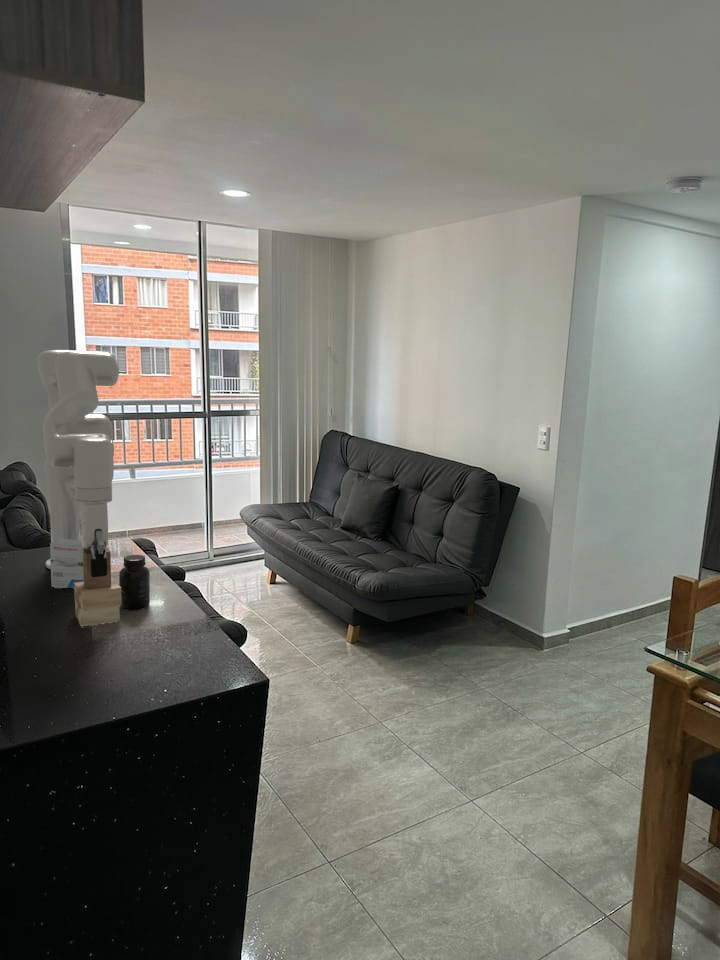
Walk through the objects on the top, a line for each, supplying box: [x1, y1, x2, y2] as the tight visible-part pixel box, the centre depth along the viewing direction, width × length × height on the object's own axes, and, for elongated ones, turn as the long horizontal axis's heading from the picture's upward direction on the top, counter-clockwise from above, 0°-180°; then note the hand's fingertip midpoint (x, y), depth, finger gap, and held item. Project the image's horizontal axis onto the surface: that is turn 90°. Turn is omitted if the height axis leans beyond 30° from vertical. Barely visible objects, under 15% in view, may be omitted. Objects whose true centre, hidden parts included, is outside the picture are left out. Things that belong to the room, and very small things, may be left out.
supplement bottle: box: [118, 554, 151, 611], centre depth 154 cm, size 7×7×12 cm
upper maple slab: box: [73, 577, 121, 611], centre depth 146 cm, size 8×8×4 cm
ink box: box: [49, 539, 84, 590], centre depth 166 cm, size 8×5×12 cm, turn 84°
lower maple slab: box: [74, 600, 121, 628], centre depth 146 cm, size 8×8×4 cm
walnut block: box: [83, 545, 112, 589], centre depth 145 cm, size 5×5×8 cm
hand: (95, 569), depth 145 cm, fingers open, 9 cm apart
